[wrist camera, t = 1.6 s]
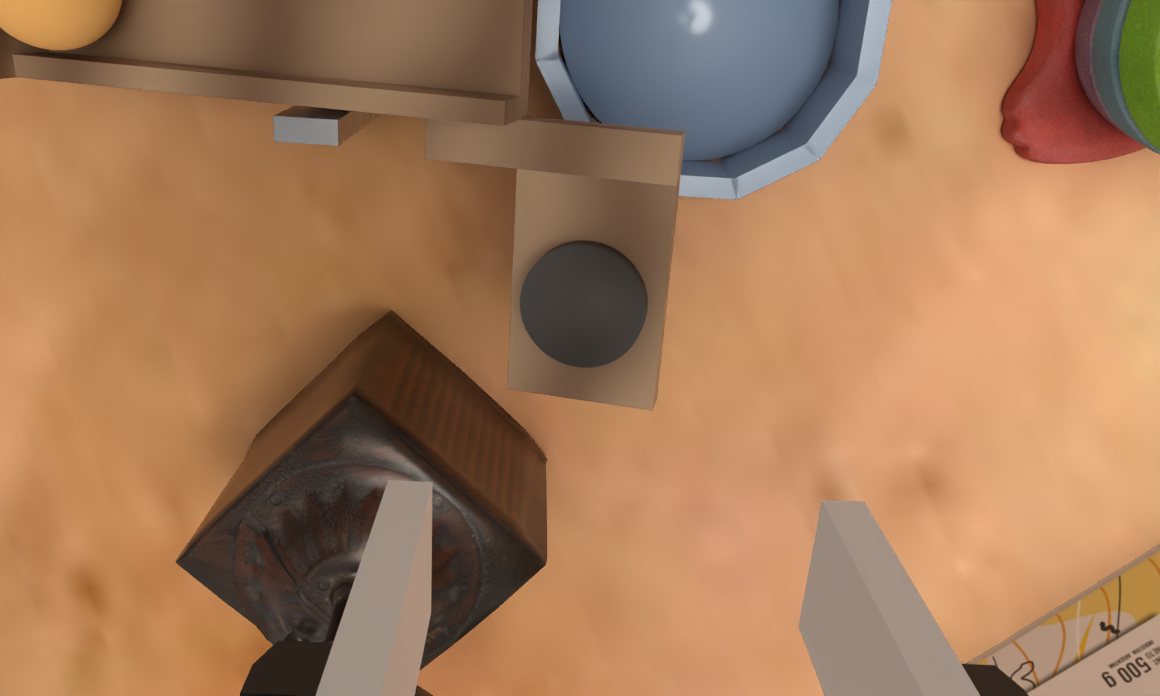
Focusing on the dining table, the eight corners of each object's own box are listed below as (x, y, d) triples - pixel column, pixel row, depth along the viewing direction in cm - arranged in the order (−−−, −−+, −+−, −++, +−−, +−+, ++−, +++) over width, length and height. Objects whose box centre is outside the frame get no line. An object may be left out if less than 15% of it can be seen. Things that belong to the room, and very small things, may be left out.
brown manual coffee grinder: (231, 456, 43) (28, 751, 27) (391, 302, 41) (277, 522, 24) (468, 647, 48) (421, 1004, 31) (626, 519, 45) (667, 833, 28)
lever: (86, 314, 35) (4, 350, 32) (27, -124, 30) (-80, -141, 26) (656, 398, 31) (639, 451, 28) (708, -85, 26) (695, -99, 22)
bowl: (548, -173, 34) (547, -192, 30) (881, -146, 35) (920, -162, 31) (531, 167, 39) (529, 187, 35) (826, 185, 39) (854, 207, 36)
